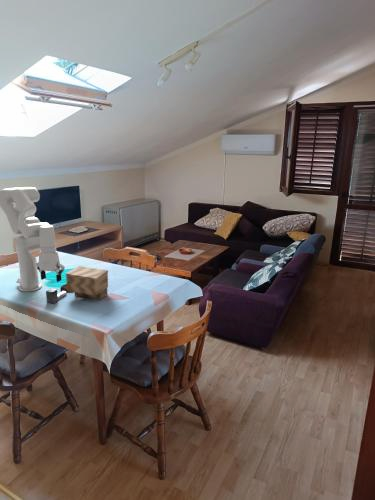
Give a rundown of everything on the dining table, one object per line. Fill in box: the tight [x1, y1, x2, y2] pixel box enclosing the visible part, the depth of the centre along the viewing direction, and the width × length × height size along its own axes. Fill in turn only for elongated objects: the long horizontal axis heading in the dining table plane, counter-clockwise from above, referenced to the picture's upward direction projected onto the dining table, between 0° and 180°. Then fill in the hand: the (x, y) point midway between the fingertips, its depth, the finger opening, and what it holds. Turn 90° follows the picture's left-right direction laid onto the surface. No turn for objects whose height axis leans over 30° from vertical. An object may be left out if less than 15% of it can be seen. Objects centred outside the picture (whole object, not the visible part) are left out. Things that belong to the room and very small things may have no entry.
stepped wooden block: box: [65, 265, 109, 300], centre depth 201 cm, size 19×13×15 cm
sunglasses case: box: [59, 283, 75, 294], centre depth 216 cm, size 18×7×7 cm, turn 163°
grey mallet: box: [45, 288, 67, 305], centre depth 198 cm, size 4×13×7 cm, turn 163°
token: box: [74, 295, 85, 302], centre depth 200 cm, size 5×5×2 cm
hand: (51, 280), depth 191 cm, fingers open, 9 cm apart
